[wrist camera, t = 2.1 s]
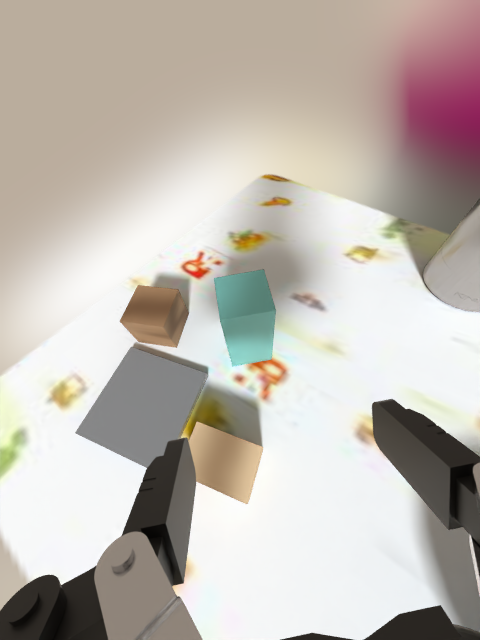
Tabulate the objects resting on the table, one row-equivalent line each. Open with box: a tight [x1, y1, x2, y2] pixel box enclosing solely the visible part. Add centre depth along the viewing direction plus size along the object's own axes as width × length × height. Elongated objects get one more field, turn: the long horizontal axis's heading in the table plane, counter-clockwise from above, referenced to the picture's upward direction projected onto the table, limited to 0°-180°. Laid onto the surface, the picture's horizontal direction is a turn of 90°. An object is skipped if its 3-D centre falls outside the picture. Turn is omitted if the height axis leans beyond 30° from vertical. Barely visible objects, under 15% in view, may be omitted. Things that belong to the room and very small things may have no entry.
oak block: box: [189, 422, 263, 504], centre depth 22 cm, size 6×4×4 cm, turn 71°
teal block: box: [214, 269, 276, 366], centre depth 25 cm, size 4×4×10 cm
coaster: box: [75, 347, 208, 468], centre depth 26 cm, size 10×10×1 cm
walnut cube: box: [120, 285, 189, 348], centre depth 30 cm, size 5×5×5 cm
